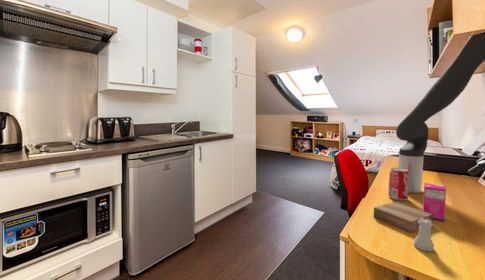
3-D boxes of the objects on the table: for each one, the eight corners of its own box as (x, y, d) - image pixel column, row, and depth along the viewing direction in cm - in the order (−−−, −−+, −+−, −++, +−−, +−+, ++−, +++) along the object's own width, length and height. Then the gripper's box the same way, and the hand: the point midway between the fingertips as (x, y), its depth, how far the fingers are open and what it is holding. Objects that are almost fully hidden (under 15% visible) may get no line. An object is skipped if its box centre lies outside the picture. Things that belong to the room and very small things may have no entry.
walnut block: (394, 211, 84) (395, 201, 84) (431, 225, 73) (432, 214, 73) (373, 218, 79) (374, 207, 79) (410, 234, 69) (411, 221, 68)
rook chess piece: (428, 254, 58) (430, 225, 57) (409, 245, 62) (411, 218, 61) (437, 249, 60) (440, 221, 59) (419, 241, 64) (421, 214, 63)
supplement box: (422, 211, 83) (424, 182, 82) (443, 215, 79) (446, 185, 78) (422, 217, 79) (424, 186, 77) (444, 222, 75) (447, 189, 74)
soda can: (405, 202, 91) (407, 172, 90) (385, 198, 97) (387, 169, 95) (410, 198, 96) (412, 169, 95) (390, 194, 101) (392, 166, 100)
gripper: (504, 133, 74) (456, 164, 80) (538, 137, 61) (479, 173, 67) (524, 149, 73) (474, 179, 79) (564, 157, 60) (501, 192, 66)
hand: (477, 177), depth 73 cm, fingers open, 8 cm apart
